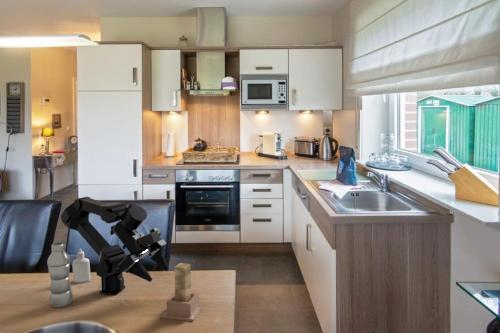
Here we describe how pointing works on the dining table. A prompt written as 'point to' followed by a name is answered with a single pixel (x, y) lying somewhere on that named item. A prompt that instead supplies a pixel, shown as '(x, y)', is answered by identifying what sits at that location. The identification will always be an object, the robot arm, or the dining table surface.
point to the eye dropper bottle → (81, 268)
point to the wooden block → (183, 282)
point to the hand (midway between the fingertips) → (159, 275)
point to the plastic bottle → (59, 276)
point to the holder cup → (183, 308)
